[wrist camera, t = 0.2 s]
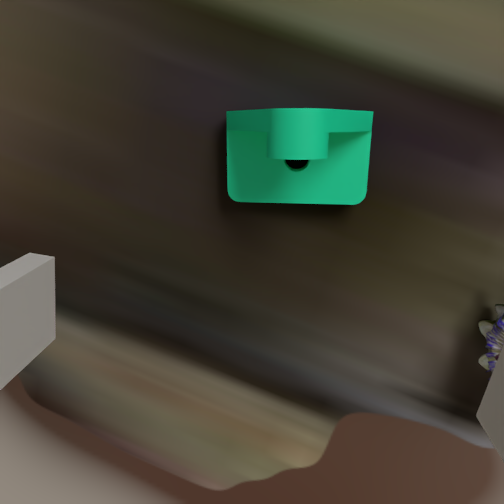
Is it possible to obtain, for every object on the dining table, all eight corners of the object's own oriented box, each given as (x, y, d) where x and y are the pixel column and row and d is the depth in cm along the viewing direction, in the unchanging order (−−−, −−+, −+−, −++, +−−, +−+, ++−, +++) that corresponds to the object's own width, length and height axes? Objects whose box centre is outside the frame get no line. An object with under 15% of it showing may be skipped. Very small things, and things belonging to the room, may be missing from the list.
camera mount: (232, 196, 40) (210, 220, 30) (231, 112, 37) (207, 108, 28) (360, 199, 38) (382, 225, 29) (368, 112, 36) (393, 108, 26)
